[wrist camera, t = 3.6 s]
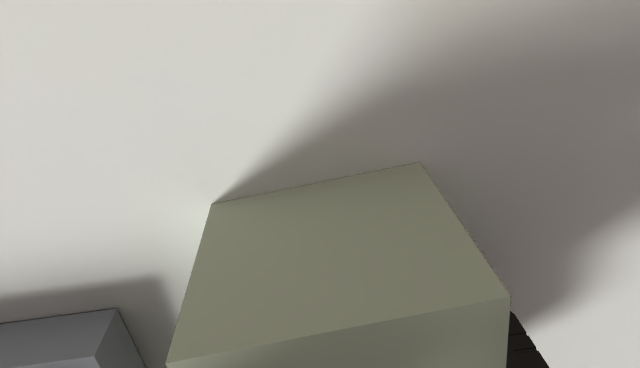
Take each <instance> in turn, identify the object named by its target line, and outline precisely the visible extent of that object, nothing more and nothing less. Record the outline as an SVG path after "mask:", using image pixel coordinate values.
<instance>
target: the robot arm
mask: <svg viewBox="0 0 640 368" xmlns="http://www.w3.org/2000/svg"><path fill="white" fill-rule="evenodd" d="M506 368H549V366H548V365H547V363H546V362H545V360H544V359H543V357H542V356H541V354H540V353H539V351H537V350H536V347H535V345H534V343H533V342H532V340H531V339H530V337H529V336H527V335H526V331H525V330H524V328H523V327H522V325H521V324H520V322H519V321H518V319H517V317H516V316H515V314H513V313H512V312H511V311H510V317H509V331H508V345H507V360H506Z"/></svg>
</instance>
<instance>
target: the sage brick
mask: <svg viewBox="0 0 640 368" xmlns="http://www.w3.org/2000/svg"><path fill="white" fill-rule="evenodd" d="M510 302H511V296H510V294H509V293H508V291H507V290H506V288H505V287H504V285H503V284H502V282H501V281H500V280H499V278H498V277H497V275H496V274H495V272H494V271H493V269H492V268H491V266H490V265H489V263H488V262H487V260H486V259H485V257H484V256H483V254H482V253H481V252H480V250H479V249H478V247H477V246H476V244H475V243H474V241H473V240H472V238H471V237H470V235H469V234H468V232H467V231H466V229H465V228H464V227H463V225H462V224H461V222H460V221H459V219H458V218H457V216H456V215H455V213H454V212H453V210H452V209H451V207H450V206H449V204H448V203H447V201H446V200H445V199H444V197H443V196H442V194H441V193H440V191H439V190H438V188H437V187H436V185H435V184H434V182H433V181H432V179H431V178H430V176H429V175H428V174H427V172H426V171H425V169H424V168H423V166H422V165H421V163H420V162H418V163H413V164H408V165H403V166H398V167H393V168H388V169H383V170H378V171H373V172H368V173H363V174H358V175H354V176H349V177H344V178H339V179H334V180H329V181H324V182H319V183H314V184H309V185H304V186H299V187H294V188H289V189H284V190H279V191H274V192H269V193H264V194H259V195H254V196H249V197H244V198H239V199H234V200H229V201H225V202H220V203H215V204H211V207H210V211H209V214H208V218H207V221H206V225H205V228H204V231H203V235H202V238H201V242H200V245H199V249H198V252H197V256H196V259H195V262H194V266H193V269H192V273H191V276H190V280H189V283H188V287H187V290H186V293H185V297H184V300H183V304H182V307H181V311H180V314H179V317H178V321H177V324H176V328H175V331H174V335H173V338H172V342H171V345H170V348H169V352H168V355H167V359H166V362H165V364H166V366H167V368H506V360H507V345H508V331H509V317H510Z"/></svg>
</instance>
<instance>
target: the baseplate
mask: <svg viewBox="0 0 640 368" xmlns="http://www.w3.org/2000/svg"><path fill="white" fill-rule="evenodd" d="M0 368H145V365H144V363H143V361H142V359H141V357H140V355H139V353H138V351H137V349H136V347H135V345H134V343H133V341H132V339H131V337H130V335H129V333H128V331H127V328H126V326H125V324H124V322H123V320H122V318H121V316H120V314H119V312H118V310H117V308H116V309H109V310H101V311H94V312H87V313H79V314H72V315H64V316H57V317H49V318H42V319H35V320H27V321H20V322H12V323H5V324H0Z"/></svg>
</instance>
